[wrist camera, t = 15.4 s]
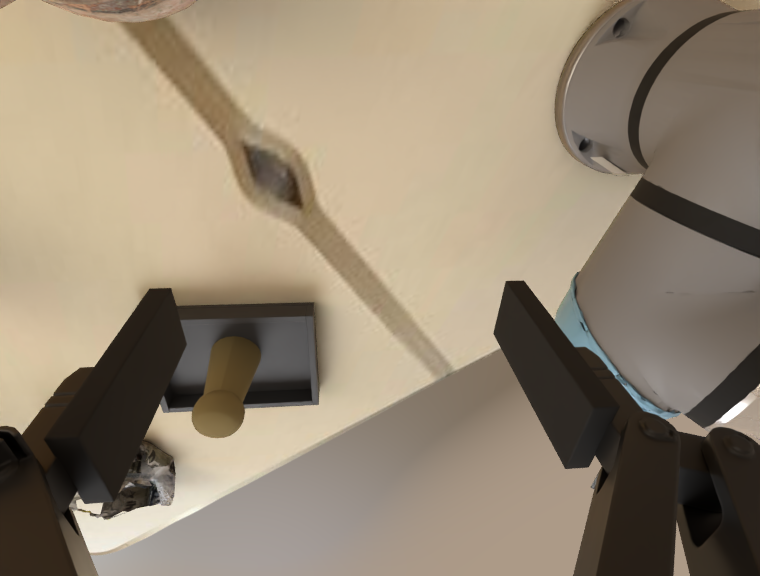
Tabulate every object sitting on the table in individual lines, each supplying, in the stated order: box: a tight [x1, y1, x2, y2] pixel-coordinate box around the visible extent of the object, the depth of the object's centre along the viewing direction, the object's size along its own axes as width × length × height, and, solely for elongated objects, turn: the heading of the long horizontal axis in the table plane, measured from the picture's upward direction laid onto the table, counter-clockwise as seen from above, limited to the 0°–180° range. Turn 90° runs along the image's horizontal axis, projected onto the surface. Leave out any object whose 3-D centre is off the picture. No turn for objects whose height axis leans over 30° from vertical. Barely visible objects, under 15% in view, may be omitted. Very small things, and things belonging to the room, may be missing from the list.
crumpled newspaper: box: [69, 441, 175, 519], centre depth 56 cm, size 12×11×15 cm
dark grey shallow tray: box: [160, 303, 319, 413], centre depth 50 cm, size 20×15×3 cm
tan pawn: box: [192, 336, 261, 438], centre depth 46 cm, size 6×6×11 cm
